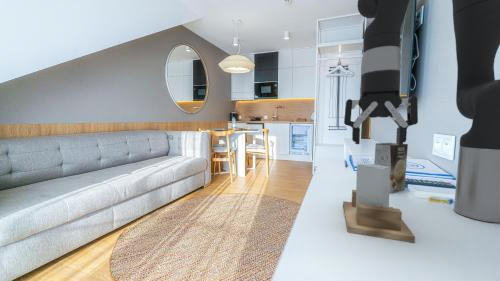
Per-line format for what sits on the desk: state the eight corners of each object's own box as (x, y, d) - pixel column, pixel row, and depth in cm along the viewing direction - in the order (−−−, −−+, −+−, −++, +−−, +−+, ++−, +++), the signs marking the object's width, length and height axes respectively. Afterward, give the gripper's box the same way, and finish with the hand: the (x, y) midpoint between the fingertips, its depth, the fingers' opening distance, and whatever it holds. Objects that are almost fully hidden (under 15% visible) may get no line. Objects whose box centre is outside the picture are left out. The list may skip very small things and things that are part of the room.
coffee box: (391, 193, 72) (394, 145, 71) (372, 188, 77) (374, 143, 76) (405, 189, 77) (408, 143, 75) (386, 185, 82) (388, 142, 81)
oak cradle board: (392, 211, 58) (393, 192, 57) (414, 242, 43) (416, 216, 42) (342, 205, 62) (343, 187, 61) (347, 232, 47) (348, 208, 46)
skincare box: (389, 217, 51) (392, 166, 50) (381, 222, 49) (385, 168, 48) (362, 209, 56) (364, 162, 55) (353, 213, 53) (356, 164, 52)
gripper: (411, 72, 50) (408, 143, 52) (344, 77, 55) (342, 142, 56) (425, 64, 43) (421, 146, 45) (346, 71, 48) (345, 145, 49)
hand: (377, 144), depth 50 cm, fingers open, 8 cm apart
